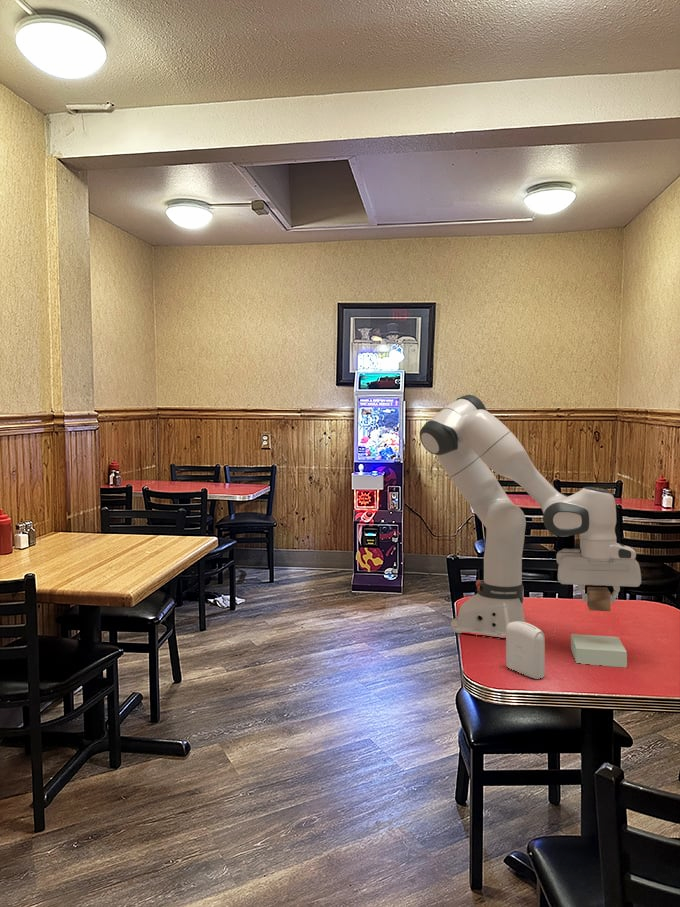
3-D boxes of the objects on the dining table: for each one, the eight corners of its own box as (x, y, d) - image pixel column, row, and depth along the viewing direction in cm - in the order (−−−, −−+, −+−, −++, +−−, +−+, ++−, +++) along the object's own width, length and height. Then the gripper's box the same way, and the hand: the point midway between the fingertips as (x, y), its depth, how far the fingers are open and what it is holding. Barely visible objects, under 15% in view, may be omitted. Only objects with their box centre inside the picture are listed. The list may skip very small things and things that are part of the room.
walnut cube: (589, 610, 164) (589, 591, 164) (587, 605, 169) (587, 586, 169) (610, 611, 163) (610, 592, 163) (607, 606, 168) (607, 587, 168)
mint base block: (576, 663, 162) (576, 648, 162) (570, 648, 174) (570, 633, 174) (626, 667, 159) (626, 651, 159) (617, 651, 171) (617, 636, 171)
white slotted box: (503, 668, 160) (503, 619, 159) (515, 664, 162) (515, 616, 162) (535, 681, 151) (535, 630, 151) (547, 677, 153) (547, 627, 153)
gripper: (557, 550, 165) (557, 603, 166) (642, 552, 160) (642, 606, 161) (555, 546, 171) (555, 597, 172) (637, 548, 166) (637, 600, 167)
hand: (598, 601), depth 166 cm, fingers closed on walnut cube, 5 cm apart
